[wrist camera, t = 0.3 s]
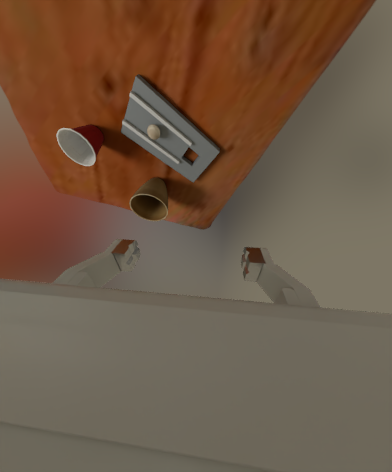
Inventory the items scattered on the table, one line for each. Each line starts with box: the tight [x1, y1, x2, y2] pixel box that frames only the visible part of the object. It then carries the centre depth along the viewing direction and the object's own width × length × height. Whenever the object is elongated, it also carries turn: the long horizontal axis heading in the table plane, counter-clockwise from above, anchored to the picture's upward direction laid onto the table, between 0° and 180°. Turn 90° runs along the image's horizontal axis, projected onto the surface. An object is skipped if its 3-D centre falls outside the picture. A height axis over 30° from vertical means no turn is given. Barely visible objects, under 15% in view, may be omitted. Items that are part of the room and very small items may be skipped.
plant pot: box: [130, 178, 168, 221], centre depth 63 cm, size 15×15×16 cm
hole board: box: [121, 74, 220, 182], centre depth 51 cm, size 16×30×4 cm, turn 53°
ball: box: [147, 124, 160, 140], centre depth 46 cm, size 4×4×4 cm
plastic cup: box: [56, 125, 104, 166], centre depth 49 cm, size 11×11×12 cm
